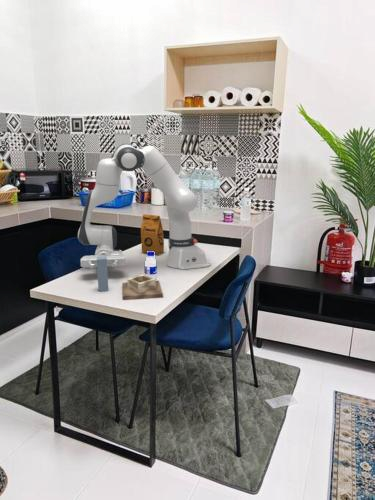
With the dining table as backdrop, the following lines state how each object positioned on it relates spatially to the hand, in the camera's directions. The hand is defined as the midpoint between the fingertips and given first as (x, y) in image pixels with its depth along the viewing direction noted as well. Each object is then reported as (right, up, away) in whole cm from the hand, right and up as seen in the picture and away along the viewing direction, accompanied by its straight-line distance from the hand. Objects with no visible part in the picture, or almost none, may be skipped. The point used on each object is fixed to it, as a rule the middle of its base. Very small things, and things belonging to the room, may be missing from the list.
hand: (102, 265), depth 173 cm
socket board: (+18, -10, -8) cm, 22 cm away
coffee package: (+18, +5, +50) cm, 53 cm away
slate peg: (+1, -10, -6) cm, 11 cm away
